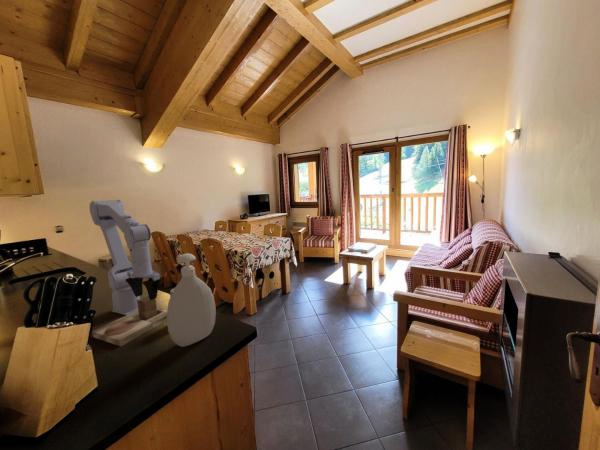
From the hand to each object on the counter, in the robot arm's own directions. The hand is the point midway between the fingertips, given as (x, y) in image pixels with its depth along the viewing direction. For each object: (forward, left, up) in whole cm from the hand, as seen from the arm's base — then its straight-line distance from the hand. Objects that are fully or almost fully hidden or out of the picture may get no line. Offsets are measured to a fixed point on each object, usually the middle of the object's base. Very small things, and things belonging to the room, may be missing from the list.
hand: (146, 297), depth 90 cm
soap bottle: (+25, -3, -9) cm, 27 cm away
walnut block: (0, 0, -9) cm, 9 cm away
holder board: (0, -4, -9) cm, 10 cm away
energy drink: (+13, +3, -9) cm, 16 cm away
